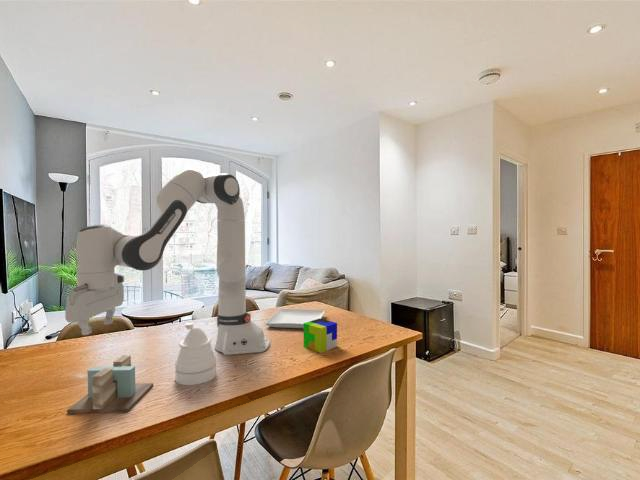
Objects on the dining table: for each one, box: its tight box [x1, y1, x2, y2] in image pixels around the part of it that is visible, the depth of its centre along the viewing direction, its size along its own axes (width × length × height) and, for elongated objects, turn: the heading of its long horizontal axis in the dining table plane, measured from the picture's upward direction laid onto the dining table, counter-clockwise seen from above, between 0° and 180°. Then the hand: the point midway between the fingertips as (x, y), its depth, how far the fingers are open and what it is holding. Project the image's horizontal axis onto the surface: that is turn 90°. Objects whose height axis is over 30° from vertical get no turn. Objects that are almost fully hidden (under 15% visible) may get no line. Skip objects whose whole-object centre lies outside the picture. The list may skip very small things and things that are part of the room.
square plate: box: [264, 308, 326, 330], centre depth 169 cm, size 27×27×4 cm
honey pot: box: [174, 322, 217, 386], centre depth 107 cm, size 13×13×18 cm
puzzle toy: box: [303, 318, 338, 354], centre depth 134 cm, size 10×10×10 cm
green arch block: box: [87, 365, 136, 398], centre depth 93 cm, size 12×2×8 cm, turn 92°
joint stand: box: [66, 354, 154, 414], centre depth 93 cm, size 16×14×10 cm
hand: (98, 328), depth 92 cm, fingers open, 8 cm apart
